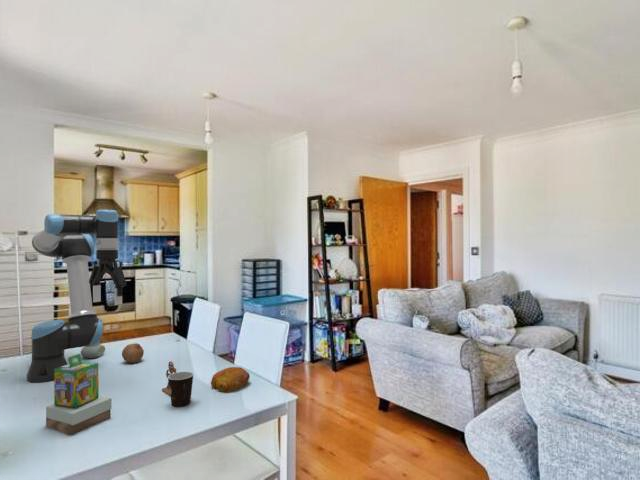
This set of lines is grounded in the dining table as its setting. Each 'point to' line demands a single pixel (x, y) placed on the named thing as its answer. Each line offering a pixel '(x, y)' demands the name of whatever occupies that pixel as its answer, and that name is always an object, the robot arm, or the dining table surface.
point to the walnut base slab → (79, 426)
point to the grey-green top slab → (78, 410)
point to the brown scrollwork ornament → (167, 390)
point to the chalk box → (75, 383)
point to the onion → (132, 353)
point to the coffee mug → (180, 388)
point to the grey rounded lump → (93, 350)
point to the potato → (230, 379)
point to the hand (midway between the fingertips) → (107, 303)
